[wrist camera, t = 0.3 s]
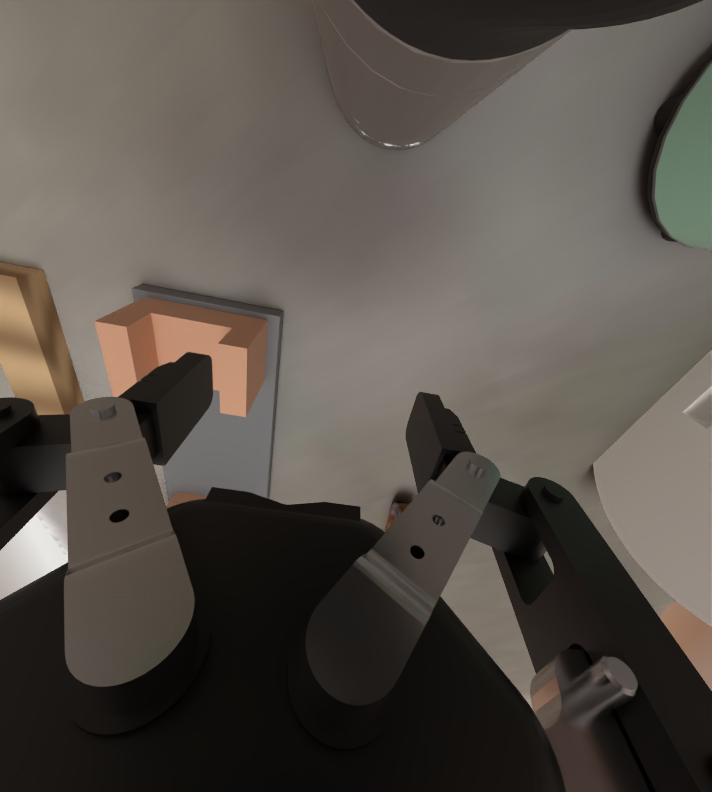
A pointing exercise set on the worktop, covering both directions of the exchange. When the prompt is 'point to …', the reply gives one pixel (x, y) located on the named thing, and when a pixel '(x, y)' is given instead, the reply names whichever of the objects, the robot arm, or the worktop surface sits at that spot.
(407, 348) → the worktop surface
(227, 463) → the end cap rail
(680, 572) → the bracket
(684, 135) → the blender
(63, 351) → the slat
